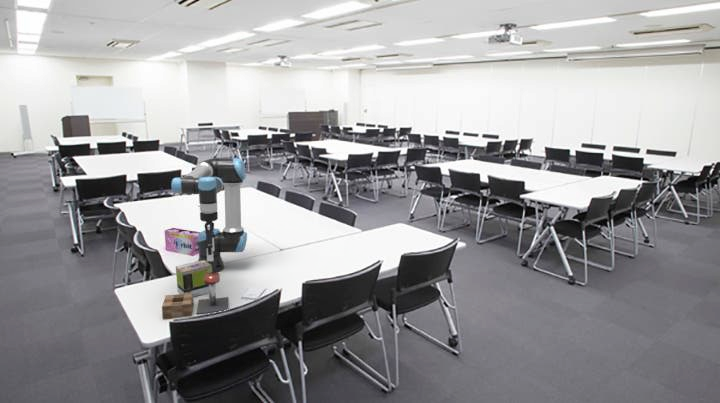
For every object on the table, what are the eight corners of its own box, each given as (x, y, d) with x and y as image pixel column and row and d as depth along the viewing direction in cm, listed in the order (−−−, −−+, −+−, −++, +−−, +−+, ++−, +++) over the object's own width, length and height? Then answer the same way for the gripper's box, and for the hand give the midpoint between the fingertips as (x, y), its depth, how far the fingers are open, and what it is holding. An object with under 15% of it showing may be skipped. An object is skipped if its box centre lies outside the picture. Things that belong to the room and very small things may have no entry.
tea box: (206, 285, 225) (205, 259, 222) (214, 291, 218) (212, 264, 214) (177, 292, 215) (175, 265, 212) (184, 299, 208) (182, 271, 205)
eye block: (166, 307, 200) (165, 295, 199) (193, 304, 203) (193, 292, 202) (162, 319, 189) (161, 306, 187) (191, 316, 192) (190, 304, 191)
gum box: (203, 252, 273) (202, 232, 270) (194, 256, 266) (193, 235, 263) (174, 247, 282) (173, 227, 279) (165, 250, 274) (163, 230, 271)
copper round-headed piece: (220, 300, 207) (219, 271, 203) (220, 307, 200) (219, 277, 197) (205, 302, 204) (204, 273, 201) (205, 308, 198) (203, 278, 195)
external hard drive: (266, 290, 222) (256, 301, 210) (251, 289, 223) (240, 299, 212) (266, 288, 222) (256, 298, 210) (251, 286, 223) (240, 296, 211)
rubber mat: (198, 301, 207) (198, 299, 207) (228, 298, 211) (228, 296, 211) (196, 314, 194) (196, 313, 194) (228, 311, 198) (228, 309, 198)
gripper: (201, 205, 203) (203, 247, 207) (198, 219, 179) (200, 266, 184) (218, 204, 205) (219, 246, 210) (216, 218, 182) (218, 264, 186)
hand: (210, 255), depth 197 cm, fingers open, 13 cm apart
